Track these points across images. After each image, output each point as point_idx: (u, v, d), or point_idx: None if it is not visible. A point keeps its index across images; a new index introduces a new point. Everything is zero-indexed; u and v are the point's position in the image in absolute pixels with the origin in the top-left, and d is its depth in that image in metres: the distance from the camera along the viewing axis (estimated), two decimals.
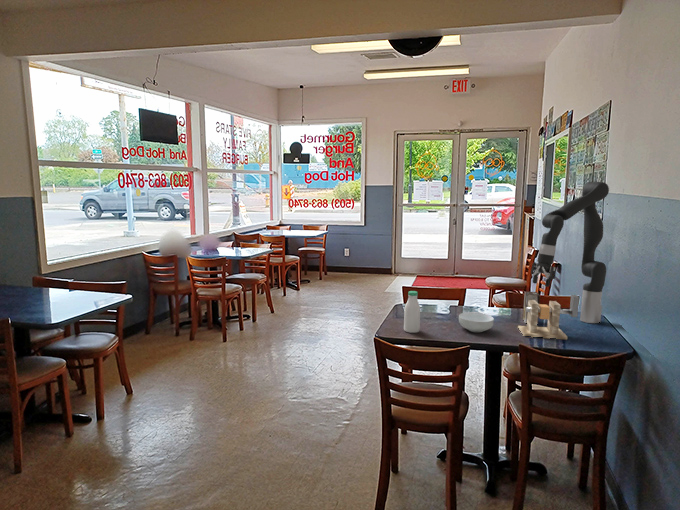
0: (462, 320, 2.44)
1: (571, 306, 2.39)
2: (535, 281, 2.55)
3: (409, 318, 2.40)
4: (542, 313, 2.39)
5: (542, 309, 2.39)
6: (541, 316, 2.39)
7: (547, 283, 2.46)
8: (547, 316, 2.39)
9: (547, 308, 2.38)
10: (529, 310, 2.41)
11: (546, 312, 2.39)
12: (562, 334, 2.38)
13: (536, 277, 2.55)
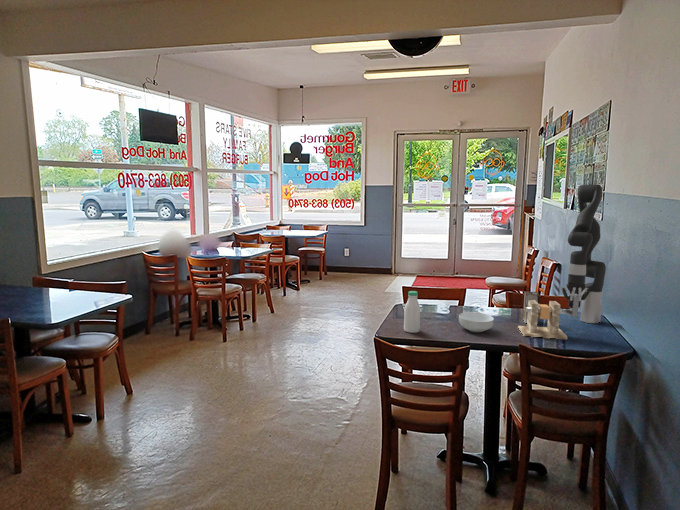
0: (462, 320, 2.44)
1: None
2: None
3: (409, 318, 2.40)
4: (542, 313, 2.39)
5: (542, 309, 2.39)
6: (541, 316, 2.39)
7: (579, 305, 2.38)
8: (547, 316, 2.39)
9: (547, 308, 2.38)
10: (529, 310, 2.41)
11: (546, 312, 2.39)
12: (562, 334, 2.38)
13: None
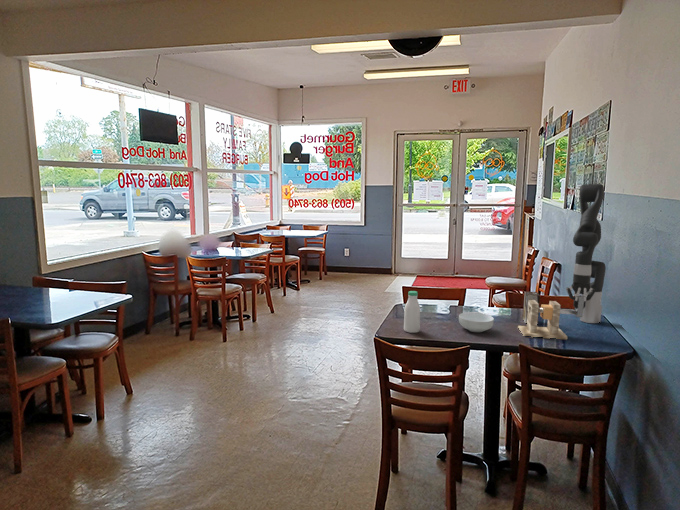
0: (462, 320, 2.44)
1: None
2: None
3: (409, 318, 2.40)
4: (545, 313, 2.39)
5: (545, 309, 2.38)
6: (544, 316, 2.39)
7: (584, 305, 2.38)
8: (550, 316, 2.39)
9: (550, 308, 2.38)
10: None
11: (549, 312, 2.38)
12: (562, 334, 2.38)
13: None
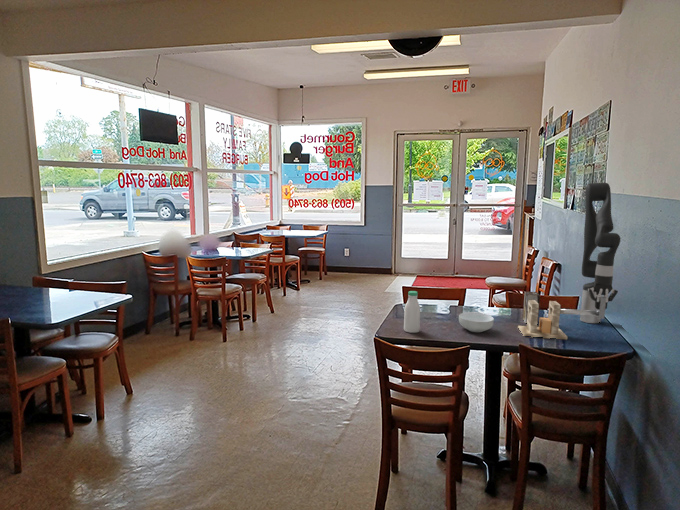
0: (462, 320, 2.44)
1: None
2: None
3: (409, 318, 2.40)
4: (543, 327, 2.40)
5: (543, 323, 2.39)
6: (542, 330, 2.40)
7: (606, 306, 2.36)
8: (548, 330, 2.40)
9: (548, 322, 2.39)
10: None
11: (547, 326, 2.39)
12: (562, 334, 2.38)
13: None
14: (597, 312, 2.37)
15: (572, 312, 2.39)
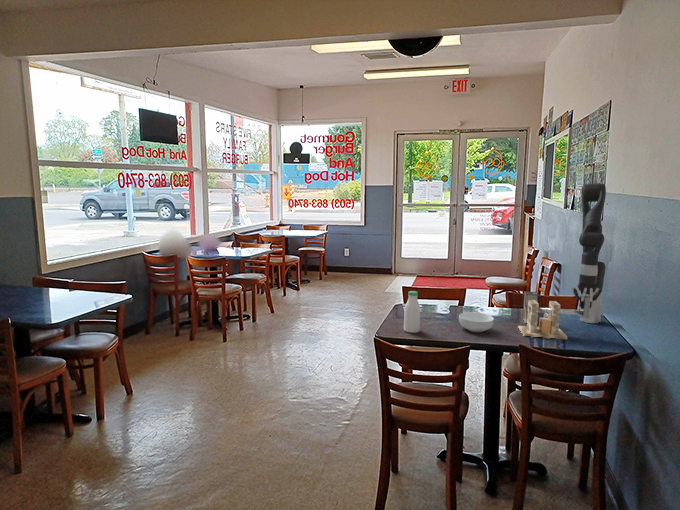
0: (462, 320, 2.44)
1: None
2: None
3: (409, 318, 2.40)
4: (543, 327, 2.40)
5: (543, 323, 2.39)
6: (542, 330, 2.40)
7: (590, 305, 2.37)
8: (548, 330, 2.40)
9: (548, 322, 2.39)
10: (540, 311, 2.41)
11: (547, 326, 2.39)
12: (562, 334, 2.38)
13: None
14: (582, 311, 2.38)
15: None
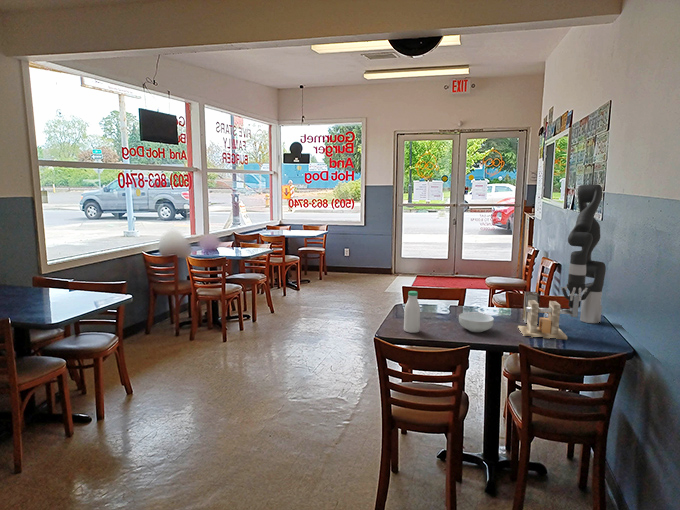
0: (462, 320, 2.44)
1: None
2: None
3: (409, 318, 2.40)
4: (543, 327, 2.40)
5: (543, 323, 2.39)
6: (542, 330, 2.40)
7: (579, 305, 2.38)
8: (548, 330, 2.40)
9: (548, 322, 2.39)
10: (529, 310, 2.41)
11: (547, 326, 2.39)
12: (562, 334, 2.38)
13: None
14: (570, 311, 2.39)
15: (546, 311, 2.40)
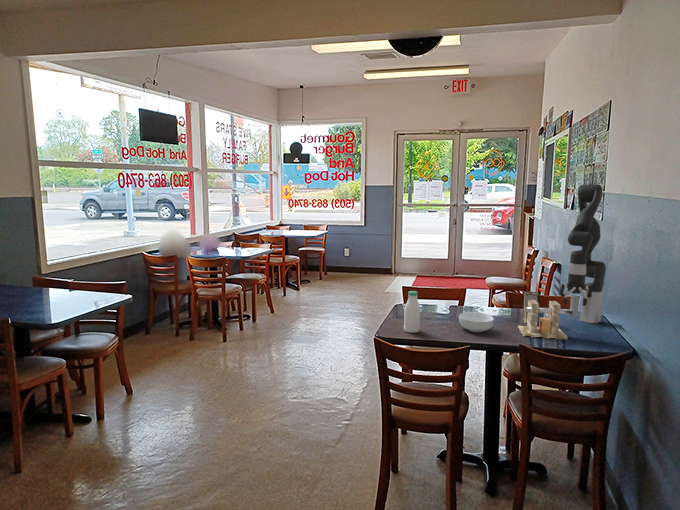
0: (462, 320, 2.44)
1: (571, 306, 2.39)
2: None
3: (409, 318, 2.40)
4: (543, 327, 2.40)
5: (543, 323, 2.39)
6: (542, 330, 2.40)
7: (585, 302, 2.37)
8: (548, 330, 2.40)
9: (548, 322, 2.39)
10: (529, 310, 2.41)
11: (547, 326, 2.39)
12: (562, 334, 2.38)
13: None
14: (570, 311, 2.39)
15: (546, 311, 2.40)
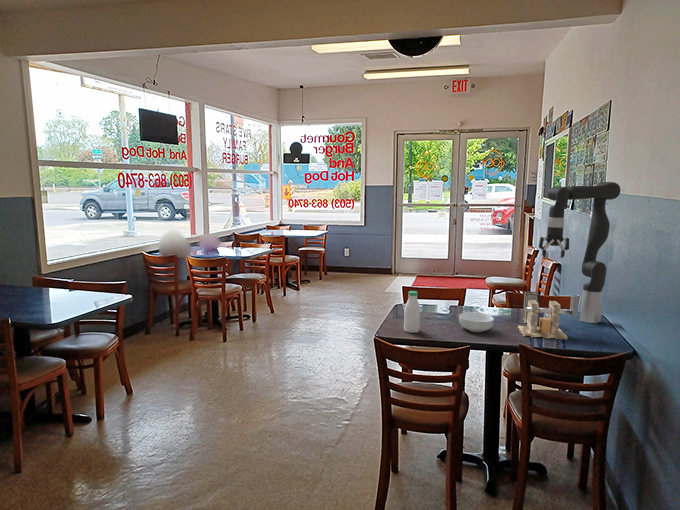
0: (462, 320, 2.44)
1: (571, 306, 2.39)
2: None
3: (409, 318, 2.40)
4: (543, 327, 2.40)
5: (543, 323, 2.39)
6: (542, 330, 2.40)
7: (563, 254, 2.52)
8: (548, 330, 2.40)
9: (548, 322, 2.39)
10: (529, 310, 2.41)
11: (547, 326, 2.39)
12: (562, 334, 2.38)
13: None
14: (570, 311, 2.39)
15: (546, 311, 2.40)
